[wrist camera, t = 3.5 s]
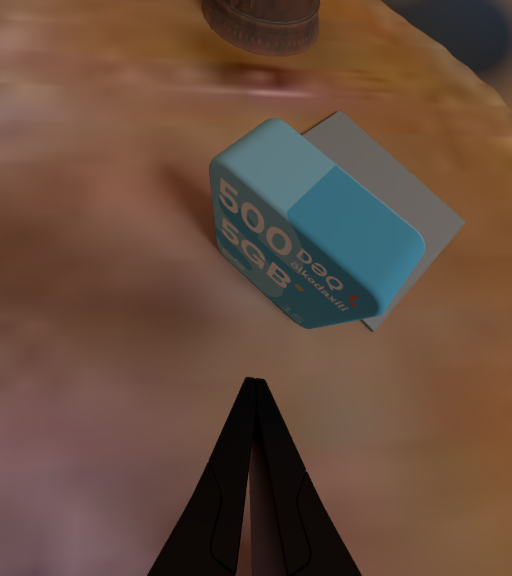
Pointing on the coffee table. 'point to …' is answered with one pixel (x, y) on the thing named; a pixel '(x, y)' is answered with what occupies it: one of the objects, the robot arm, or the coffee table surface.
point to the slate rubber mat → (388, 191)
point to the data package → (308, 229)
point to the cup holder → (265, 24)
